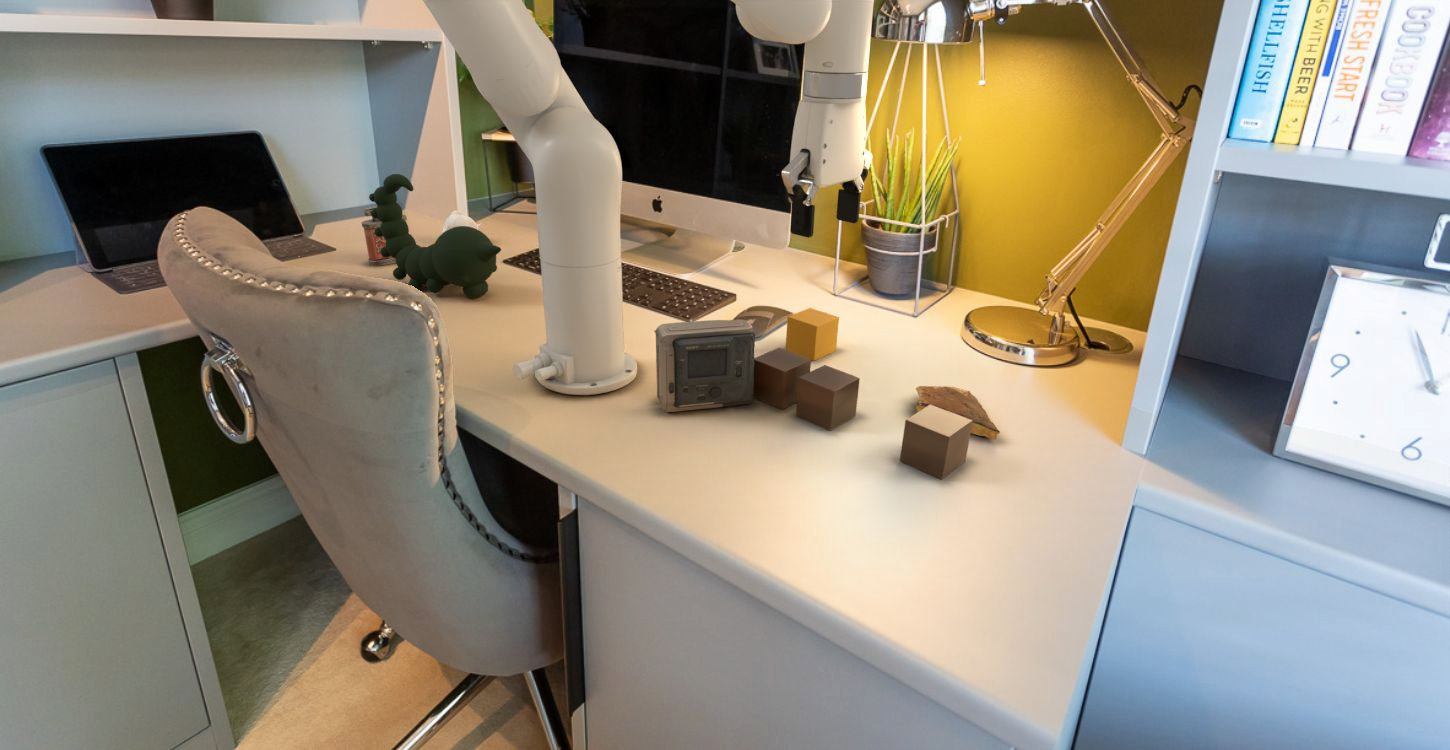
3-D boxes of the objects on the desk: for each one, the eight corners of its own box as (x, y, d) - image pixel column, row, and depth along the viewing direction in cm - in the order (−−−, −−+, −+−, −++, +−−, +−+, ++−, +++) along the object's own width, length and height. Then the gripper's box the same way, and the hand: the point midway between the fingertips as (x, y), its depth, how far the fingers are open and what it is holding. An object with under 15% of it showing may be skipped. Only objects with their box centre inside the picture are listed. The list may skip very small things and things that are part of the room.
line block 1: (782, 410, 92) (784, 371, 90) (750, 396, 95) (752, 358, 93) (808, 396, 96) (811, 359, 93) (776, 383, 99) (779, 347, 97)
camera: (745, 389, 97) (748, 314, 93) (756, 411, 92) (760, 332, 88) (653, 396, 95) (652, 319, 90) (660, 419, 90) (659, 338, 85)
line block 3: (941, 480, 79) (949, 437, 77) (899, 461, 83) (905, 419, 80) (965, 461, 83) (973, 420, 81) (923, 444, 86) (930, 404, 84)
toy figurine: (374, 295, 128) (487, 311, 117) (346, 178, 121) (464, 182, 110) (419, 279, 136) (529, 293, 125) (395, 168, 129) (510, 172, 117)
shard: (998, 443, 86) (1000, 429, 86) (929, 443, 86) (931, 429, 85) (967, 398, 96) (970, 385, 95) (906, 398, 96) (908, 385, 95)
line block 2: (830, 431, 88) (834, 391, 86) (795, 415, 91) (798, 377, 89) (855, 416, 91) (860, 377, 89) (821, 402, 94) (824, 364, 92)
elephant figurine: (439, 241, 152) (435, 210, 149) (481, 237, 155) (478, 207, 153) (445, 250, 146) (441, 219, 144) (488, 246, 150) (485, 215, 147)
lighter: (405, 253, 144) (396, 199, 140) (416, 257, 142) (408, 202, 138) (364, 263, 138) (354, 207, 134) (375, 267, 136) (366, 210, 132)
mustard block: (814, 361, 105) (816, 326, 103) (785, 350, 108) (787, 316, 106) (835, 350, 109) (839, 317, 106) (807, 340, 112) (810, 307, 110)
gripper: (850, 80, 102) (840, 211, 109) (763, 89, 90) (759, 235, 98) (900, 85, 97) (886, 221, 104) (815, 95, 85) (806, 247, 93)
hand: (825, 227), depth 101 cm, fingers open, 9 cm apart
